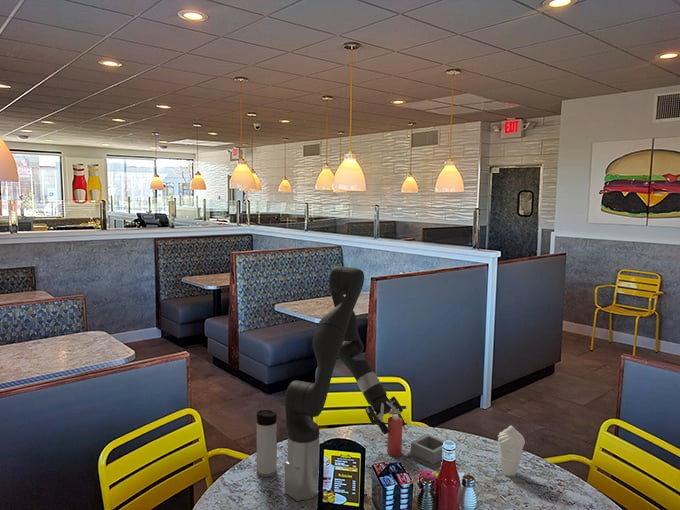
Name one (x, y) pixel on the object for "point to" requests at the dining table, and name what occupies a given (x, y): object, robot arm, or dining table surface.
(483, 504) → the dining table surface
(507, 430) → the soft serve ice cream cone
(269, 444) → the travel mug
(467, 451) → the dining table surface
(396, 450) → the squeeze bottle
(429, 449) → the box
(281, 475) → the dining table surface
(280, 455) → the dining table surface
